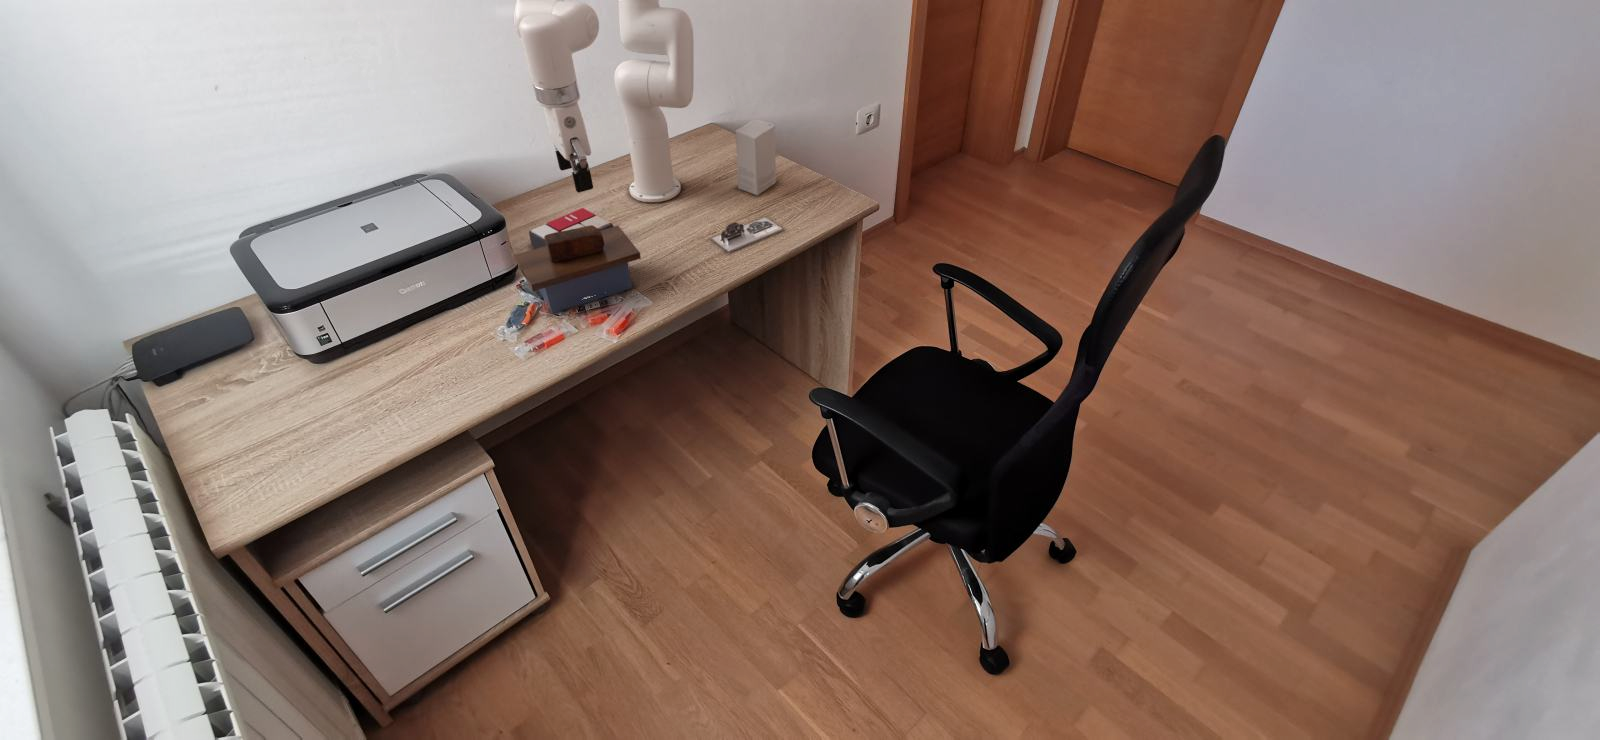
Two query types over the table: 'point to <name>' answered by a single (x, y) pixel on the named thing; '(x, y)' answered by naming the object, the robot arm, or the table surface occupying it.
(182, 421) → the table surface
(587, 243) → the brick
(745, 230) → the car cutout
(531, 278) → the board
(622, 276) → the blue box
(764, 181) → the cosmetic box
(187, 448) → the table surface
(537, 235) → the button pad
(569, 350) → the table surface
